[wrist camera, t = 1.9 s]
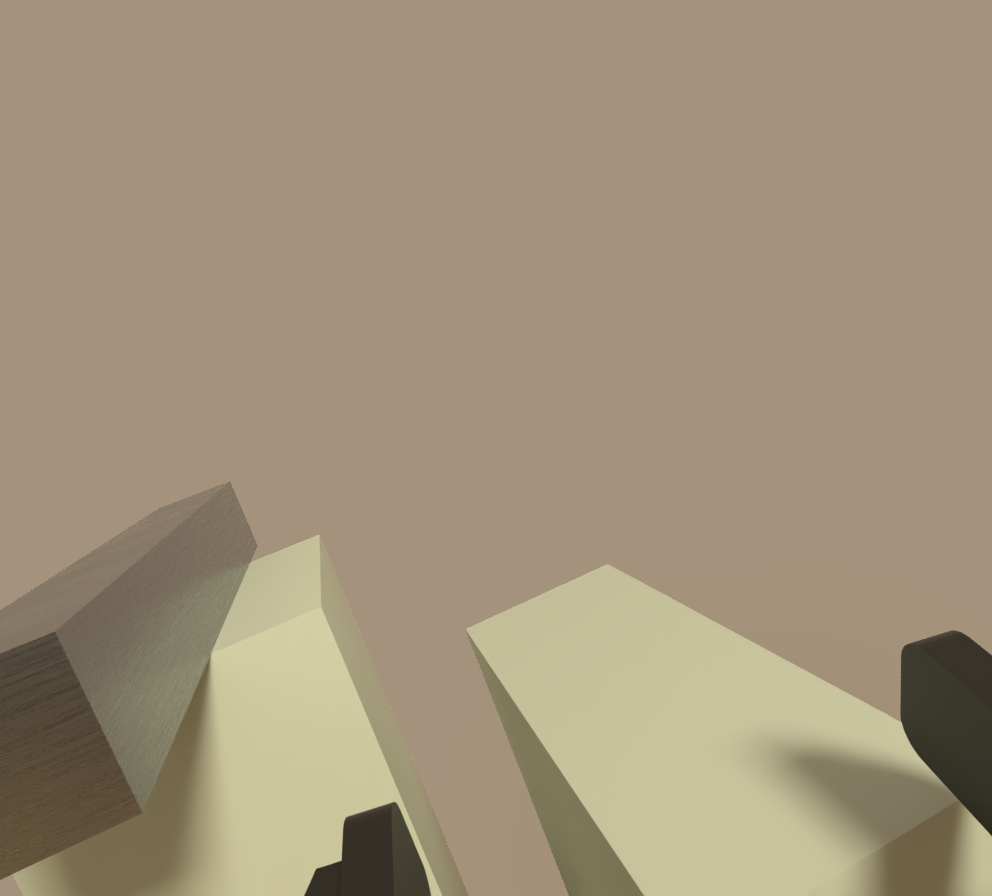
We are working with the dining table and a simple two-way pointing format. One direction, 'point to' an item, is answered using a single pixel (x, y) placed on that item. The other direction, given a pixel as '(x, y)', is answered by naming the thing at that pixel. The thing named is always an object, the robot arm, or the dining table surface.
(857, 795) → the block
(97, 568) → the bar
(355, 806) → the stand
